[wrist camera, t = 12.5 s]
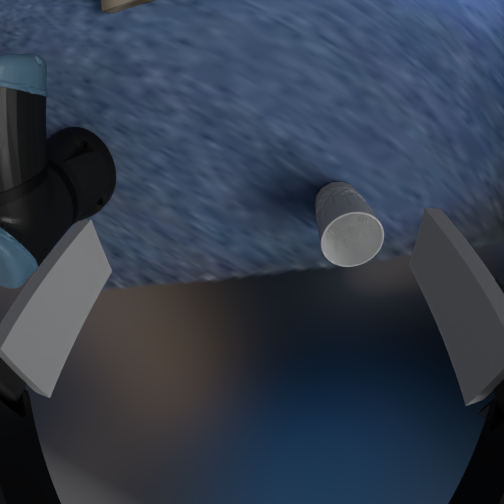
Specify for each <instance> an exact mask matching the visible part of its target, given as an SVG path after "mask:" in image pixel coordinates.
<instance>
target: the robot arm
mask: <svg viewBox="0 0 504 504" xmlns="http://www.w3.org/2000/svg"><path fill="white" fill-rule="evenodd" d="M46 79H47V65H46V62H45V60H44V59H43V58H42V57H40V56H38V55H33V54H17V55H3V56H0V286H2V287H6V288H17V287H20V286H21V285H23V284H24V283H25V281H26V280H27V279H28V278H29V277H30V276H31V274H32V273H34V272H35V271H36V272H35V273H34V275H33V276H32V278H31V279H30V280H29V282H28V283H27V285H26V286H25V287H24V289H23V290H22V292H21V293H20V294H19V296H18V297H17V298H16V300H15V301H14V303H13V304H12V306H11V308H10V309H9V310H8V312H7V314H6V316H5V317H4V318H3V320H2V322H1V323H0V504H61V503H60V500H59V498H58V495H57V493H56V490H55V488H54V485H53V483H52V480H51V477H50V474H49V471H48V468H47V466H46V462H45V459H44V456H43V453H42V449H41V446H40V442H39V438H38V434H37V431H36V426H35V422H34V417H33V413H32V408H31V402H30V397H29V394H28V391H27V390H25V386H26V384H27V385H29V386H30V387H31V388H32V389H33V390H34V391H35V392H36V393H39V394H41V395H44V396H46V397H49V398H50V397H51V394H52V391H53V389H54V387H55V384H56V382H57V379H58V377H59V374H60V372H61V370H62V368H63V365H64V363H65V361H66V359H67V357H68V355H69V352H70V350H71V348H72V346H73V344H74V342H75V340H76V338H77V335H78V333H79V331H80V329H81V327H82V325H83V323H84V321H85V320H86V318H87V316H88V314H89V312H90V310H91V308H92V306H93V304H94V302H95V301H96V299H97V297H98V295H99V293H100V291H101V290H102V288H103V286H104V284H105V283H106V281H107V279H108V277H109V276H110V274H111V272H112V270H111V267H110V265H109V263H108V260H107V258H106V256H105V253H104V251H103V249H102V246H101V244H100V241H99V239H98V236H97V233H96V231H95V228H94V226H93V223H92V220H83V219H86V218H88V217H90V216H93V215H94V214H96V213H97V212H99V211H100V210H101V209H102V208H103V207H104V206H105V205H106V203H107V202H108V201H109V200H110V198H111V196H112V194H113V192H114V188H115V183H116V171H115V166H114V162H113V159H112V156H111V154H110V152H109V150H108V148H107V147H106V145H105V144H104V143H103V142H102V140H101V139H100V138H99V137H97V136H96V135H95V134H94V133H92V132H90V131H88V130H86V129H83V128H79V127H70V128H66V129H63V130H61V131H59V132H57V133H55V134H54V135H52V136H51V137H50V138H48V139H47V140H46V97H47V96H48V92H47V89H46ZM81 220H82V221H81ZM74 223H76V224H75V225H74V226H73V227H72V228H71V229H70V230H69V231H68V233H67V234H66V235H65V236H64V237H63V238H62V236H63V235H64V234H65V233H66V231H67V230H68V229H69V228H70V227H71V226H72V225H73V224H74ZM61 238H62V240H61V241H60V242H59V243H58V244H57V242H58V241H59V240H60V239H61ZM56 244H57V246H56V247H55V248H54V249H53V247H54V246H55V245H56ZM52 249H53V250H52ZM51 250H52V252H51V253H50V251H51ZM49 253H50V254H49ZM48 254H49V255H48ZM47 255H48V257H47V258H46V256H47ZM45 258H46V259H45ZM44 259H45V260H44ZM43 260H44V262H43ZM42 262H43V263H42ZM41 263H42V264H41ZM40 264H41V266H40ZM39 266H40V267H39ZM409 266H410V268H411V270H412V272H413V274H414V276H415V278H416V280H417V282H418V284H419V286H420V288H421V290H422V292H423V294H424V296H425V298H426V300H427V303H428V305H429V307H430V309H431V311H432V314H433V316H434V318H435V321H436V323H437V326H438V328H439V330H440V333H441V335H442V338H443V340H444V343H445V345H446V348H447V350H448V353H449V356H450V359H451V361H452V364H453V367H454V370H455V372H456V376H457V378H458V381H459V385H460V388H461V390H462V394H463V397H464V401H465V404H466V406H467V405H469V404H472V403H475V402H478V401H481V400H483V399H484V398H485V397H486V396H487V395H488V394H490V392H492V390H494V392H495V397H494V398H493V399H492V400H491V401H490V402H489V403H487V404H486V405H485V406H484V407H483V408H482V409H481V410H480V412H479V413H478V414H479V415H481V414H483V413H484V412H485V411H486V410H488V409H489V410H488V413H486V414H485V415H484V417H485V418H486V419H485V422H484V425H483V428H482V431H481V434H480V437H479V439H478V442H477V445H476V447H475V450H474V452H473V455H472V457H471V459H470V462H469V464H468V466H467V468H466V471H465V473H464V475H463V477H462V479H461V481H460V483H459V485H458V487H457V489H456V491H455V493H454V495H453V496H452V498H451V500H450V502H449V503H448V504H504V286H503V285H502V284H501V283H500V282H499V281H498V280H497V279H494V278H493V276H492V275H491V273H490V272H489V271H488V269H487V268H486V266H485V265H484V263H483V262H482V261H481V259H480V258H479V257H478V255H477V254H476V252H475V251H474V250H473V248H472V247H471V246H470V244H469V243H468V242H467V240H466V239H465V238H464V237H463V235H462V234H461V233H460V232H459V230H458V229H457V228H456V227H455V226H454V224H453V223H452V222H451V221H450V220H449V218H448V217H447V216H446V215H445V214H444V213H443V211H442V210H441V209H430V208H425V209H424V213H423V218H422V222H421V225H420V229H419V233H418V237H417V240H416V244H415V247H414V251H413V254H412V257H411V261H410V264H409ZM38 267H39V268H38Z"/></svg>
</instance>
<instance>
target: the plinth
mask: <svg viewBox="0 0 504 504" xmlns="http://www.w3.org/2000/svg"><path fill="white" fill-rule="evenodd" d="M151 1H155V0H101V2H102V12H108V13H116V12H118V11H121V10H124V9H127V8H130V7H134V6H137V5H140V4H144V3H147V2H151Z"/></svg>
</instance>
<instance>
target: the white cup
mask: <svg viewBox="0 0 504 504" xmlns="http://www.w3.org/2000/svg"><path fill="white" fill-rule="evenodd" d="M315 209H316V219H317V226H318V232H319V238H320V244H321V250H322V252H323V254H324V256H325V257H326V258H327V259H328V260H329V261H330V262H332V263H333V264H336V265H339V266H344V267H352V266H357V265H360V264H363V263H365V262H367V261H369V260H370V259H371V258H373V257H374V256H375V255H376V254H377V252H378V251H379V250H380V248H381V246H382V243H383V239H384V231H383V227H382V225H381V223H380V222H379V220H378V219H377V217H376V216H375V214H374V213H373V211H372V210H371V208H370V207H369V206H368V204H367V203H366V202H365V200H364V199H363V198H362V196H361V195H360V194H359V193H358V192H357V191H356V190H355V189H354V188H353V186H352V185H350V184H348V183H345V182H342V181H340V182H331V183H329V184H327V185H326V186H324V187H322V188H321V190H320V191H319V193H318V194H317V195H316V200H315Z"/></svg>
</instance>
